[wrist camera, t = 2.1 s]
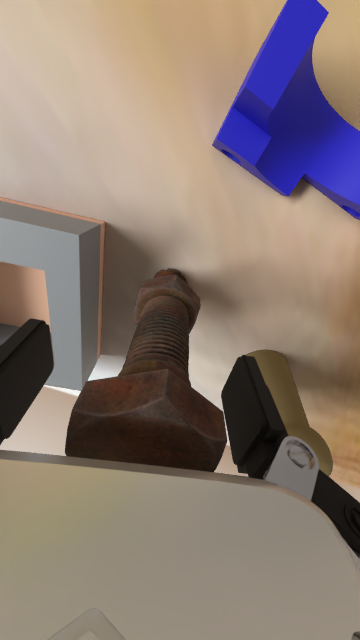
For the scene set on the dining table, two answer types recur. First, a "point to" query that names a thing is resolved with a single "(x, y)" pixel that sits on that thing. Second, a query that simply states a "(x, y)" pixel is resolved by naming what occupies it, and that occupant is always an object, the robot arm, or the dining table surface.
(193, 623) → the robot arm
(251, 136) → the cable clip
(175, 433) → the bolt
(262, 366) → the cork
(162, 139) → the dining table surface
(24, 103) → the dining table surface
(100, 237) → the socket block
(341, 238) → the dining table surface
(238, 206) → the dining table surface
